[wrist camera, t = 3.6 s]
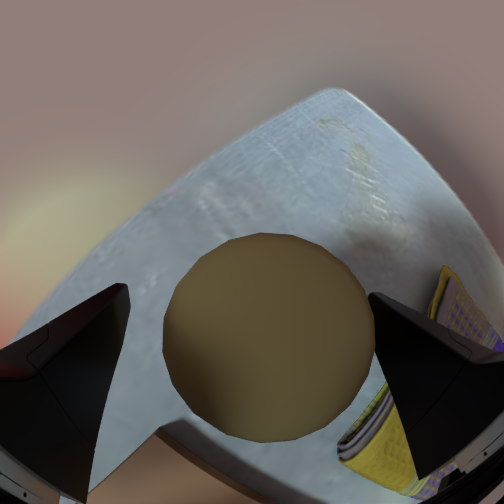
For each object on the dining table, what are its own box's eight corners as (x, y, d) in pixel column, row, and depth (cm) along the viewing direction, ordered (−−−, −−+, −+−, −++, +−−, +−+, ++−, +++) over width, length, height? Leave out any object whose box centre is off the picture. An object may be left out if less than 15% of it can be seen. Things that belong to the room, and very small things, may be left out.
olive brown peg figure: (215, 275, 16) (226, 150, 6) (303, 322, 16) (435, 271, 6) (165, 363, 14) (75, 387, 4) (259, 410, 14) (344, 502, 4)
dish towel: (452, 514, 11) (467, 520, 8) (314, 447, 14) (331, 460, 11) (519, 388, 17) (535, 387, 14) (432, 262, 20) (453, 251, 17)
